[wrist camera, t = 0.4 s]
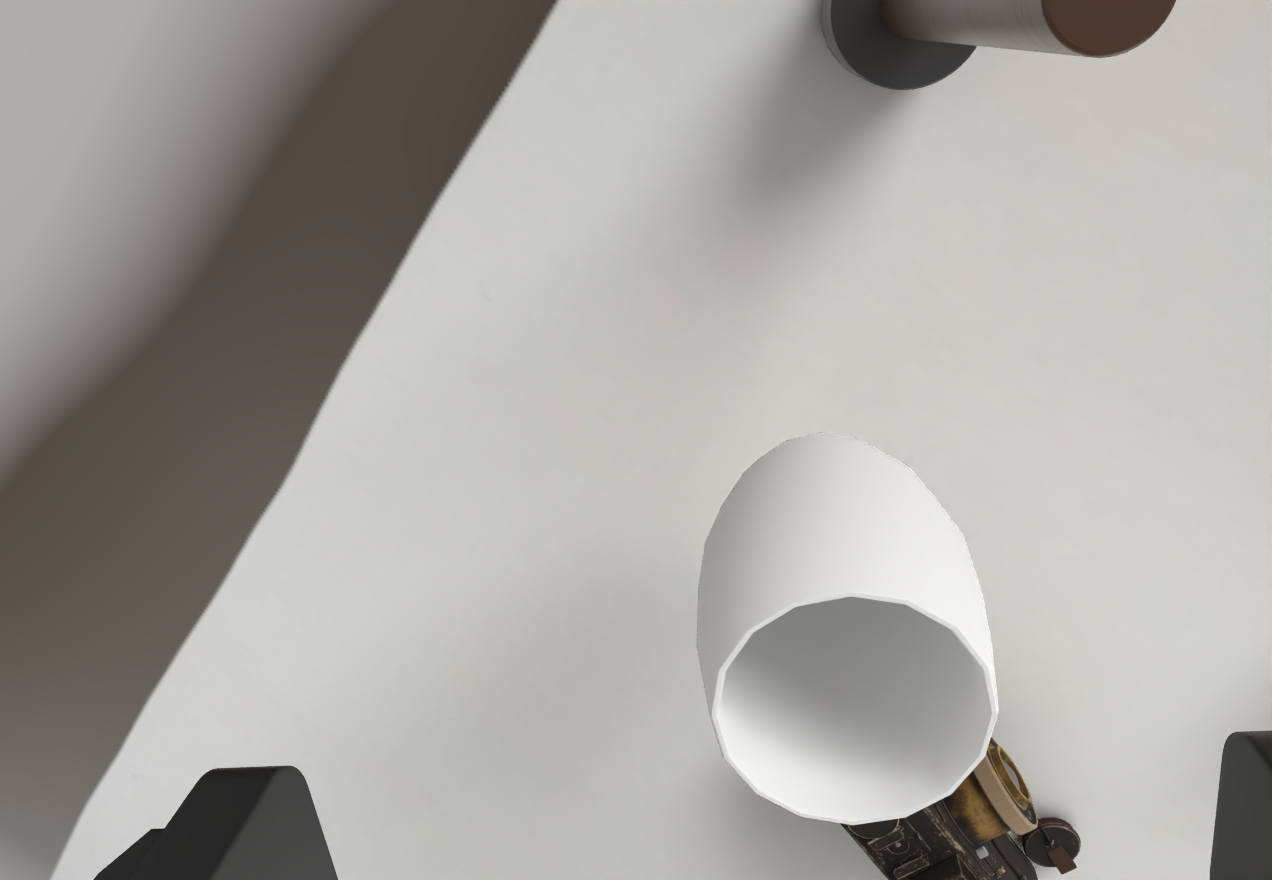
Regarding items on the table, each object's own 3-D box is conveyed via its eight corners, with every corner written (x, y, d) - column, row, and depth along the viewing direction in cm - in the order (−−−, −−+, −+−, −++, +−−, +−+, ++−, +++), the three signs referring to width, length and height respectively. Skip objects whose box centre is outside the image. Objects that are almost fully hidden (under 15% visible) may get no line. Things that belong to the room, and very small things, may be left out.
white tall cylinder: (685, 355, 41) (629, 641, 22) (854, 277, 40) (950, 516, 20) (761, 503, 44) (769, 880, 24) (925, 436, 42) (1072, 787, 23)
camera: (1103, 858, 49) (1166, 1007, 41) (978, 914, 51) (1016, 1066, 43) (910, 608, 45) (942, 723, 37) (783, 680, 47) (790, 803, 39)
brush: (815, -56, 35) (921, -187, 13) (959, -79, 35) (1324, -257, 13) (825, 90, 37) (934, 189, 15) (962, 71, 36) (1289, 146, 14)
